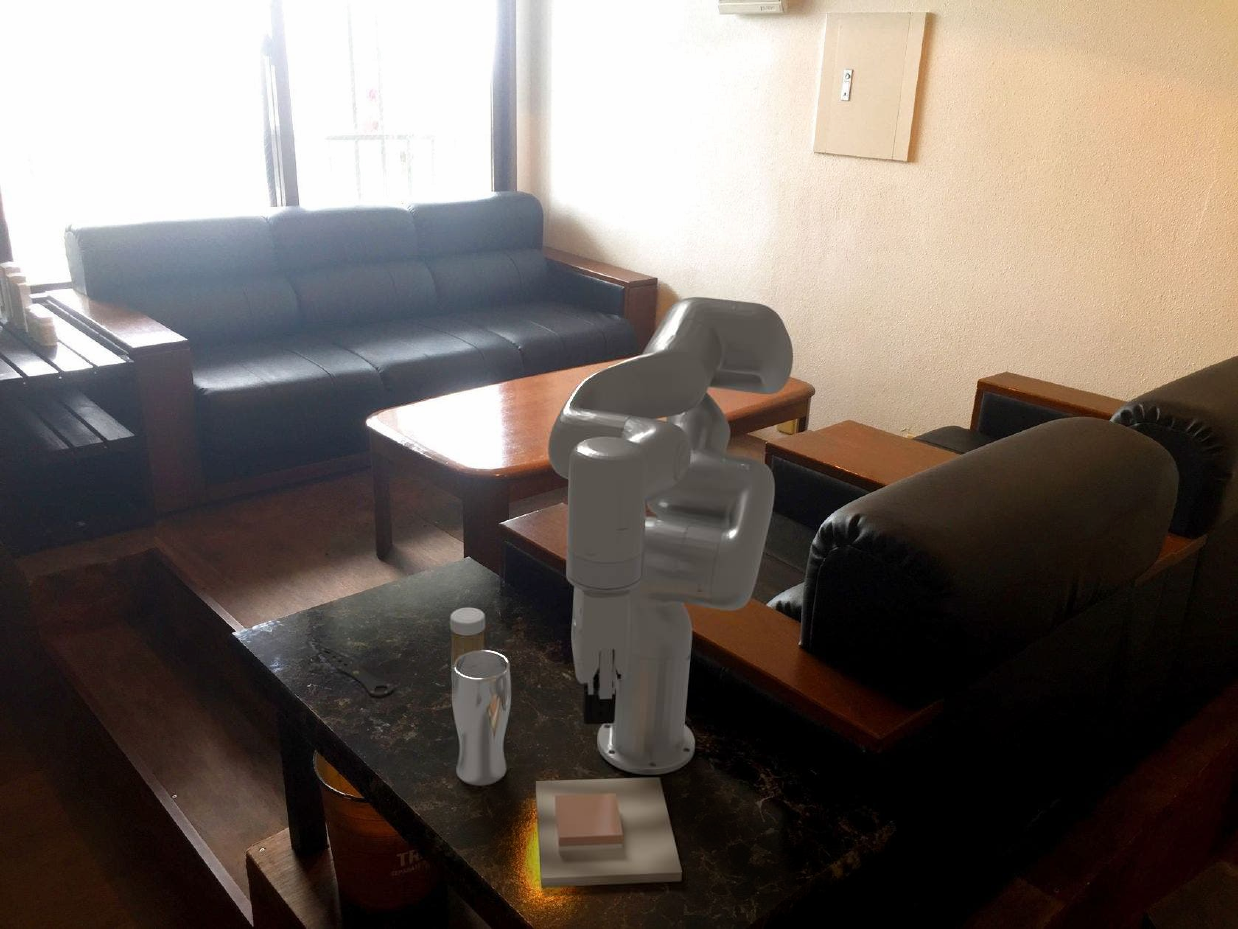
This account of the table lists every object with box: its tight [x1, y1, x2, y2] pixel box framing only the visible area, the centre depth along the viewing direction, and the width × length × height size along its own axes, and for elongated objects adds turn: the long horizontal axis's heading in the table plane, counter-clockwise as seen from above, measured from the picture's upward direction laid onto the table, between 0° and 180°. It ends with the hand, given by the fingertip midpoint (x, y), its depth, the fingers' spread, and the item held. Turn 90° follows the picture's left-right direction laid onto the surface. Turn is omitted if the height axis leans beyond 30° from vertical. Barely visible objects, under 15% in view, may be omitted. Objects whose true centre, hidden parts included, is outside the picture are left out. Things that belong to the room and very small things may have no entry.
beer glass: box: [451, 649, 512, 787], centre depth 123 cm, size 7×7×15 cm
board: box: [535, 776, 683, 888], centre depth 116 cm, size 16×15×1 cm
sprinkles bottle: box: [449, 607, 486, 703], centre depth 137 cm, size 5×5×13 cm
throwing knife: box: [307, 640, 395, 698], centre depth 146 cm, size 4×20×1 cm, turn 48°
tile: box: [555, 794, 623, 851], centre depth 115 cm, size 2×7×7 cm
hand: (598, 719), depth 107 cm, fingers closed
